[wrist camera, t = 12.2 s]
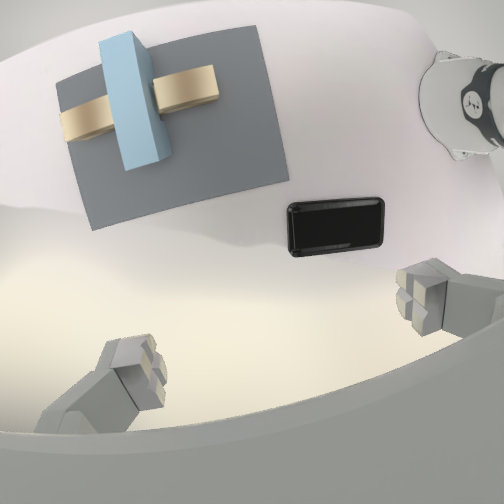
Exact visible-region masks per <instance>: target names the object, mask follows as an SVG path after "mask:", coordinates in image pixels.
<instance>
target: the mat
mask: <svg viewBox="0 0 504 504" xmlns="http://www.w3.org/2000/svg"><path fill="white" fill-rule="evenodd" d="M146 50H147V51H148V53H149V54H150V55H151V60H152V65H153V70H154V75H155V79H157V78H160V77H164V76H167V75H171V74H175V73H179V72H183V71H187V70H191V69H195V68H199V67H204V66H208V65H213V69H214V73H215V78H216V82H217V87H218V91H219V97H218V101H217V102H212V103H208V104H204V105H200V106H195V107H191V108H187V109H184V110H180V111H176V112H172V113H169V114H165V115H161V116H160V120H161V121H164V122H165V125H166V130H167V134H168V138H169V143H170V147H171V151H172V155H171V156H169V157H166V158H164V159H162V160H160V161H157V162H154V163H150V164H147V165H143V166H140V167H137V168H133V169H130V170H127V171H125V167H124V164H123V160H122V156H121V152H120V148H119V144H118V139H117V135H116V131H115V130H114V131H111V132H108V133H105V134H102V135H100V136H97V137H94V138H91V139H89V140H83V141H71V142H67V144H68V148H69V152H70V156H71V160H72V164H73V168H74V172H75V176H76V179H77V183H78V187H79V190H80V194H81V197H82V200H83V204H84V207H85V210H86V213H87V216H88V219H89V223H90V226H91V229H92V231H94V230H97V229H100V228H104V227H107V226H111V225H114V224H117V223H121V222H124V221H128V220H131V219H135V218H138V217H142V216H146V215H149V214H153V213H156V212H160V211H164V210H168V209H171V208H175V207H179V206H183V205H187V204H191V203H194V202H198V201H202V200H206V199H210V198H215V197H219V196H223V195H227V194H231V193H235V192H240V191H244V190H248V189H253V188H257V187H262V186H266V185H271V184H275V183H280V182H285V181H290V180H289V175H288V170H287V165H286V159H285V154H284V149H283V144H282V139H281V134H280V129H279V124H278V120H277V115H276V110H275V106H274V101H273V96H272V92H271V87H270V83H269V78H268V74H267V70H266V65H265V61H264V57H263V53H262V48H261V44H260V40H259V36H258V32H257V28H256V25H254V26H246V27H240V28H234V29H228V30H222V31H217V32H211V33H207V34H202V35H197V36H193V37H188V38H184V39H180V40H176V41H172V42H168V43H165V44H161V45H157V46H154V47H150V48H147V49H146ZM56 89H57V95H58V100H59V106H60V111H61V113H63V112H65V111H67V110H70V109H72V108H74V107H77V106H79V105H82V104H84V103H87V102H89V101H92V100H94V99H97V98H100V97H102V96H105V95H108V93H107V88H106V83H105V78H104V72H103V67H102V64H100V65H98V66H95V67H92V68H90V69H87V70H85V71H83V72H80V73H78V74H76V75H73V76H71V77H69V78H66V79H64V80H62V81H60V82H58V83H56Z"/></svg>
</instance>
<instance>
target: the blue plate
mask: <svg viewBox="0 0 504 504" xmlns="http://www.w3.org/2000/svg"><path fill="white" fill-rule="evenodd" d="M99 48H100V55H101V61H102V67H103V72H104V78H105V83H106V88H107V93H108V98H109V103H110V108H111V113H112V117H113V122H114V126H115V131H116V135H117V139H118V144H119V148H120V152H121V156H122V160H123V164H124V167H125V171H127V170H130V169H133V168H137V167H140V166H143V165H147V164H150V163H154V162H157V161H160V160H162V159H164V158H166V157H169V156H171V155H172V151H171V147H170V143H169V138H168V134H167V130H166V125H165V122H164V121H161V120H160V116H159V111H158V107H157V102H156V98H155V93H154V89H153V86H154V82H153V79H155V75H154V70H153V65H152V60H151V55H150V54H149V53H148V51H147V50H146V49H145V47H144V46H143V45H142V44H141V42H140V41H139V40H138V38H137V37H136V36H135V34H134V33H133V32H132V31H128V32H125V33H122V34H119V35H117V36H114V37H111V38H108V39H105V40H103V41H100V42H99Z"/></svg>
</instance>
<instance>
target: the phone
mask: <svg viewBox="0 0 504 504" xmlns="http://www.w3.org/2000/svg"><path fill="white" fill-rule="evenodd" d="M384 217H385V202H384V200H383V199H381V198H379V197H366V198H350V199H336V200H322V201H309V202H297V203H292V204H290V205H289V206H288V208H287V229H288V251H289V253H290V254H291V255H292V256H293V257H305V256H312V255H322V254H330V253H338V252H347V251H355V250H363V249H371V248H378V247H380V246H381V245H382V243H383V237H384Z"/></svg>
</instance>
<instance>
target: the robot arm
mask: <svg viewBox="0 0 504 504" xmlns="http://www.w3.org/2000/svg"><path fill="white" fill-rule="evenodd" d="M448 58H449V59H448ZM419 101H420V108H421V112H422V116H423V119H424V121H425V123H426V126H427V127H428V129H429V131H430V132H431V134H432V135H433V136H434V137H435V138H436V139H437V140H438V141H439V142H440V143H442V144H443V145H444V146H445V147H446V148H447V149H448V151H449V152H450V154H451V156H452V157H453V159H454V160H456V161H462V160H464V159H466V158H469V157H471V156H473V155H475V154H489V152H491V151H493V150H495V149H497V148H498V147H501V148H504V64H499V63H493V62H491V61H486V60H485V61H482V59H481V58H475V57H463V58H462V57H459V56H457V55H454V54H451V53H449V52H446V51H439V52H438V53H437V55H436V57H435V61H434V64H433V65H432V66H431V67H430V68H429V69H428V70H427V72H426V73H425V74H424V76H423V78H422V81H421V85H420V91H419ZM462 152H463V153H462ZM396 283H397V284H398V285H399V286H400V288H399V290H398V292H397V294H396V303H397V307H398V310H399V312H400V314H401V315H402V316H403V318H404V319H406V320H410V321H412V327H413V328H414V329H415V330H416V331H417V332H418V333H419V334H420V336H425V335H428V334H431V333H433V332H436V331H438V330H440V329H442V330H444V331H446V332H449V333H451V334H454V335H456V336H459V337H461V338H464V339H462V340H460V341H458V342H456V343H454V344H452V345H449V346H447V347H445V348H443V349H441V350H439V351H437V352H434V353H432V354H430V355H428V356H426V357H423V358H421V359H419V360H416V361H414V362H412V363H409V364H407V365H405V366H402V367H400V368H397V369H395V370H392V371H389V372H387V373H385V374H382V375H379V376H376V377H374V378H371V379H368V380H365V381H363V382H360V383H357V384H354V385H351V386H348V387H345V388H342V389H339V390H336V391H333V392H329V393H326V394H323V395H320V396H317V397H313V398H310V399H306V400H302V401H299V402H295V403H291V404H288V405H284V406H280V407H276V408H272V409H268V410H263V411H259V412H255V413H250V414H245V415H241V416H236V417H231V418H226V419H221V420H215V421H209V422H203V423H197V424H190V425H184V426H176V427H169V428H160V429H151V430H141V431H130V432H125V431H126V430H127V429H128V427H129V426H130V425H131V423H132V422H133V420H134V419H135V418H136V416H137V415H138V414H139V411H143V410H150V409H156V408H162V407H164V401H165V393H166V392H165V390H164V388H163V386H164V385H165V384H166V383H167V369H166V365H165V362H164V360H163V357H162V355H160V354H159V353H157V352H156V351H155V349H156V342H155V340H154V338H153V336H152V335H151V334H144V335H139V336H133V337H127V338H122V339H121V338H120V339H115V340H111V341H107V342H106V344H105V346H104V349H103V351H102V354H101V356H100V358H99V361H98V364H97V366H96V369H95V371H91V372H89V373H88V374H87V375H86V376H85V377H83V378H82V379H81V380H80V381H78V382H77V383H76V384H75V385H74V386H72V387H71V388H70V389H69V390H68V391H67V392H65V393H64V394H63V395H62V396H60V397H59V398H58V399H57V400H56V401H54V402H53V403H52V404H51V405H50V406H49V407H47V408H46V409H45V410H44V411H43V412H42V414H41V417H40V419H39V421H38V424H37V426H36V428H35V431H34V433H21V432H8V431H0V504H504V280H501V279H495V278H489V277H483V276H477V275H471V274H463V275H462V274H460V273H459V272H457V271H456V270H454V269H453V268H451V267H450V266H448V265H446V264H445V263H443V262H442V261H440V260H439V259H437V258H431V259H429V260H426V261H423V262H421V263H418V264H415V265H412V266H409V267H407V268H404V269H401V270H398V272H397V276H396Z"/></svg>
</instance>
